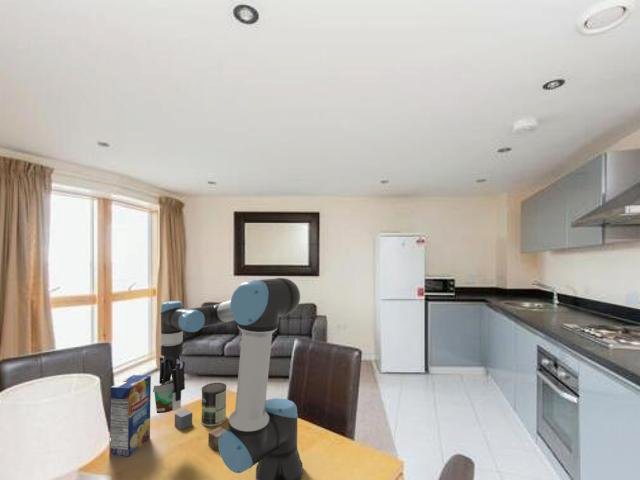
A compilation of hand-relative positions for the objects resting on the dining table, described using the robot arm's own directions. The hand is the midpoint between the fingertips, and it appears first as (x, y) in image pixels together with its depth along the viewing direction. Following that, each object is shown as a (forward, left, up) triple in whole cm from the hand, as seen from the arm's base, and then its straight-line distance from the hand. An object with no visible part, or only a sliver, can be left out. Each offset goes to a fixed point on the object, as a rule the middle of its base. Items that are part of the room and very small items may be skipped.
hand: (171, 406), depth 120 cm
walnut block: (-12, -12, -16) cm, 23 cm away
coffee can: (+5, -22, -16) cm, 28 cm away
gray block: (+12, -12, -16) cm, 23 cm away
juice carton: (+14, +8, -16) cm, 23 cm away
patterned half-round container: (-1, 0, -1) cm, 1 cm away
